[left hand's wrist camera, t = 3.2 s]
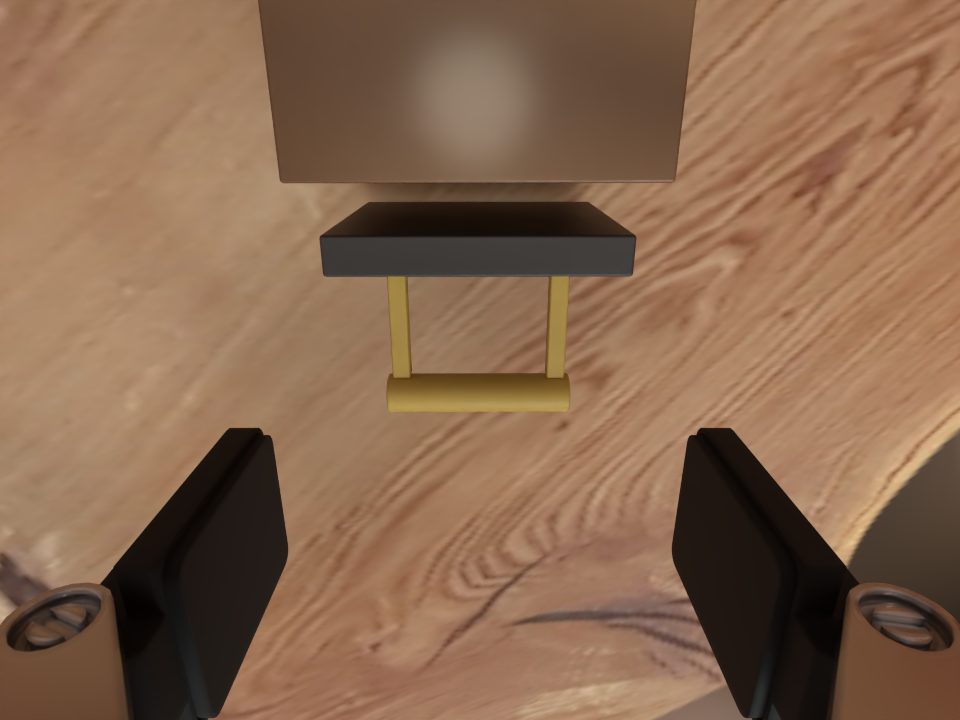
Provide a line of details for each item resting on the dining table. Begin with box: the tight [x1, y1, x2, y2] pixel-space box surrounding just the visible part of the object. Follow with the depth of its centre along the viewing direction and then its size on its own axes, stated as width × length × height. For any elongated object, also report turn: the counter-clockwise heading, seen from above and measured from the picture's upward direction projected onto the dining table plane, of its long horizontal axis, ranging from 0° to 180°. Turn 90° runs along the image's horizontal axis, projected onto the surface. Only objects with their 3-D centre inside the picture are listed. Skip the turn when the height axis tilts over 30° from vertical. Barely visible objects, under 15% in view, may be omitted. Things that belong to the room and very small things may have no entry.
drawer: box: [320, 202, 636, 412], centre depth 18 cm, size 24×9×8 cm, turn 0°
